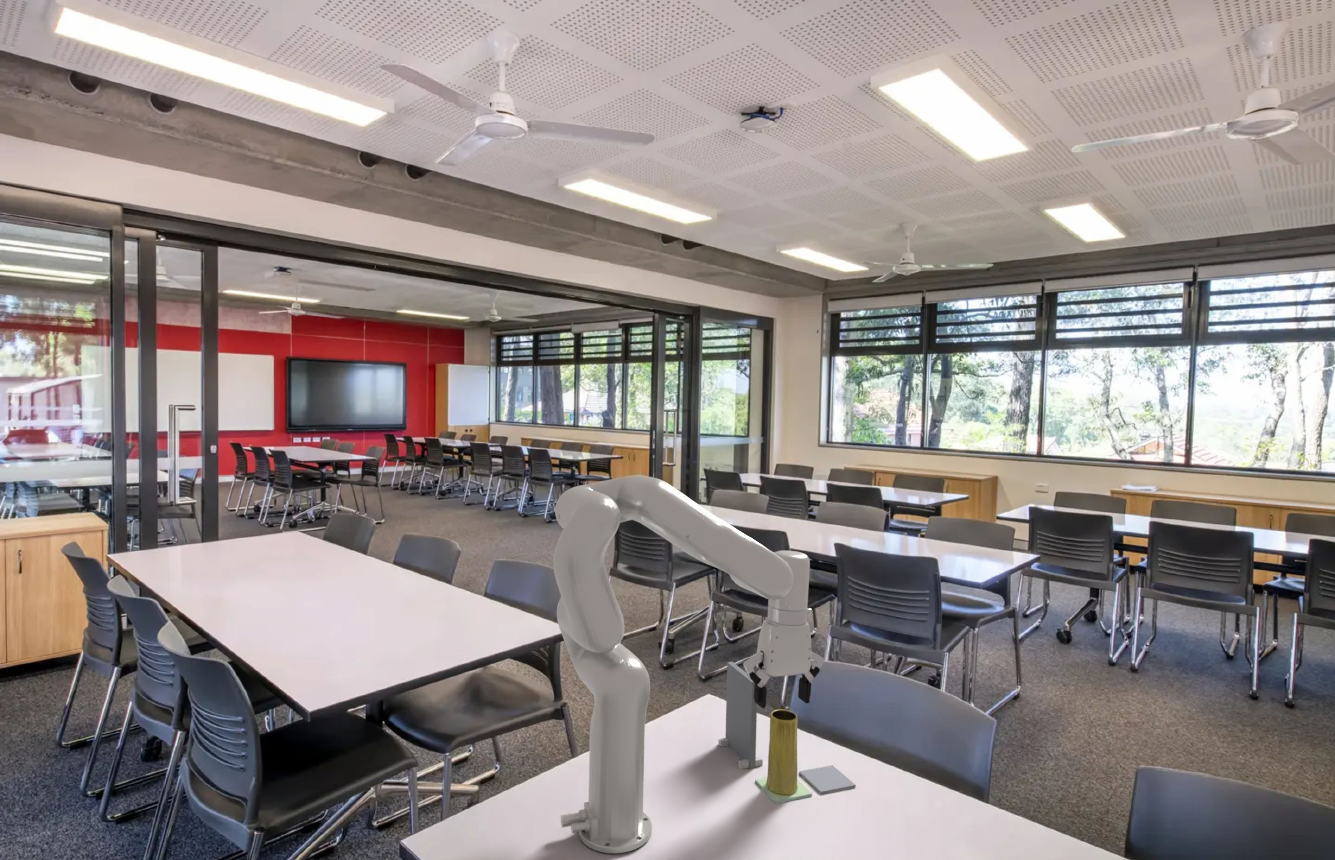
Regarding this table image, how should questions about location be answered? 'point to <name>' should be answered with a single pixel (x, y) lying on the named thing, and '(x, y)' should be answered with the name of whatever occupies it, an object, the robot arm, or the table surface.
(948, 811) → the table surface
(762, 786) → the pad sage
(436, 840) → the table surface
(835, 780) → the pad slate
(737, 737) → the screen
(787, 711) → the vase
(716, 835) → the table surface
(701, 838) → the table surface
